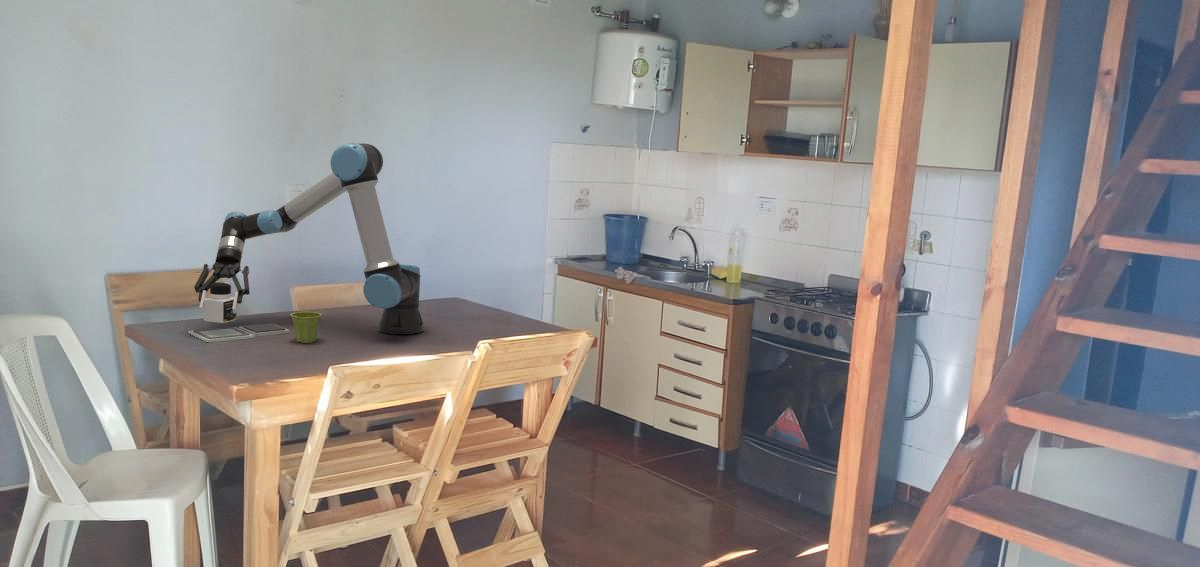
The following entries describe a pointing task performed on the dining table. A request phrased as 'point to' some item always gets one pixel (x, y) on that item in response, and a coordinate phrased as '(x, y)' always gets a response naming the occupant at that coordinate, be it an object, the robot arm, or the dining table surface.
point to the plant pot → (306, 326)
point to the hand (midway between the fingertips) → (217, 310)
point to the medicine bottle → (219, 304)
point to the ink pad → (264, 329)
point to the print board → (221, 334)
